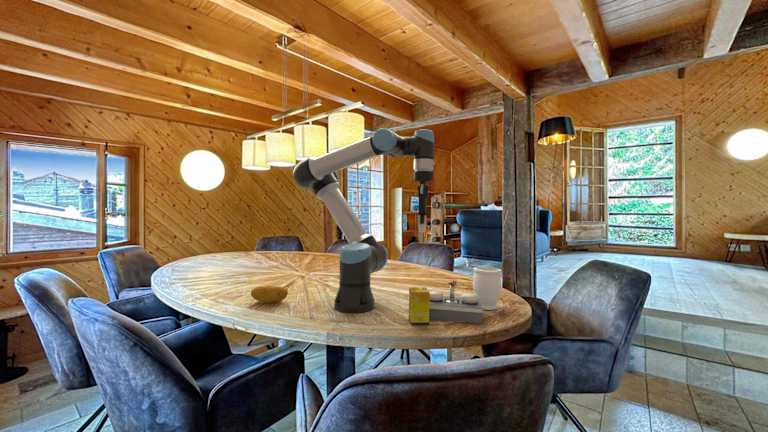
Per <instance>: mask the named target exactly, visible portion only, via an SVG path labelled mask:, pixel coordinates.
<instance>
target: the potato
mask: <svg viewBox="0 0 768 432" xmlns="http://www.w3.org/2000/svg"><path fill="white" fill-rule="evenodd" d="M250 295H251V297H252V299H254V300H256V301H257V302H261V303H263V304H276V303H277V304H278V303H280V302H282V301H283V300H285V299H286V298H287V297H288V295H289V291H288V289H287V288H286V287H283V286H277V285H262V286H260V285H259V286H256V287H254V288H252V290H251V292H250Z"/></svg>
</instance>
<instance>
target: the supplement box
mask: <svg viewBox="0 0 768 432" xmlns="http://www.w3.org/2000/svg"><path fill="white" fill-rule="evenodd" d="M429 291H430V290H429V289H427V287H425V286H424V287H421V286H420V287H417V286H415V287H408V292H409V293H408V320H409V322H410V325H411V326H426V325H427V326H428V325H430V319H429V303H430V292H429Z"/></svg>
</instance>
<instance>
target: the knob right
mask: <svg viewBox="0 0 768 432" xmlns="http://www.w3.org/2000/svg"><path fill="white" fill-rule="evenodd" d="M460 297H461V301H462V302H464V304H470V305H475V303H477V302H478V295H476V294H474V293H471V292H470V293H469V292H466V293H464V292H463V293H462V294H461V295H460Z"/></svg>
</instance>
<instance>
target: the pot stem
mask: <svg viewBox="0 0 768 432" xmlns="http://www.w3.org/2000/svg"><path fill="white" fill-rule="evenodd" d="M447 284H448V285H449V296H450V299H449V300H446V303H457V304H458V301H457V300H454V297H455V291H456V289H455V287H456V286H457V284H458V283H457V280H453V279H449V280H448V283H447Z"/></svg>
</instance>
